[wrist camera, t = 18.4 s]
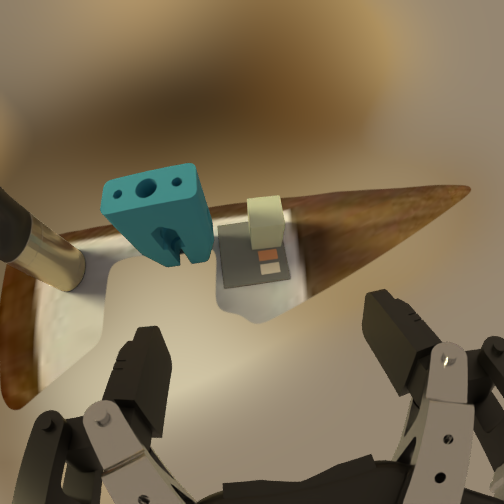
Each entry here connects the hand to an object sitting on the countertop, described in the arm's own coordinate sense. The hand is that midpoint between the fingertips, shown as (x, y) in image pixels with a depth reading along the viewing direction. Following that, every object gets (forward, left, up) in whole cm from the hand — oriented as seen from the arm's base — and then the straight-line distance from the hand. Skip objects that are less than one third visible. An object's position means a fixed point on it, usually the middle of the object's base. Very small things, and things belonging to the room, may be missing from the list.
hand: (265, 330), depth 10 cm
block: (-10, +18, -35) cm, 41 cm away
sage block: (+4, +19, -34) cm, 39 cm away
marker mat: (+1, +16, -34) cm, 38 cm away
